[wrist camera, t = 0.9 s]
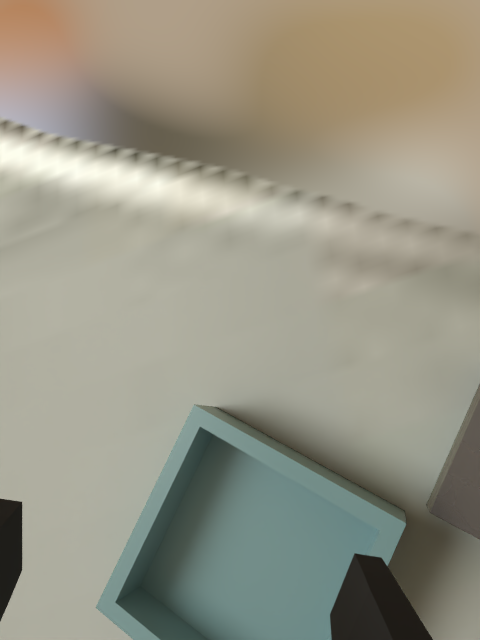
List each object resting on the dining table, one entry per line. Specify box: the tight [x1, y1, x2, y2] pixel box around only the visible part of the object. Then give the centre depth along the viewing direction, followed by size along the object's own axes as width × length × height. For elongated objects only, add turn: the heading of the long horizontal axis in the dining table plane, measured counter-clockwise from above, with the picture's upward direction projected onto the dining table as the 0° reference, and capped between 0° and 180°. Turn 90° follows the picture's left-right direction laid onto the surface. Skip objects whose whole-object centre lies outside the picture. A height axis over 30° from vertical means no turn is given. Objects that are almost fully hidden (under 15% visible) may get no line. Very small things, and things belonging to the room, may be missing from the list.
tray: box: [96, 405, 406, 640], centre depth 22 cm, size 11×11×3 cm
